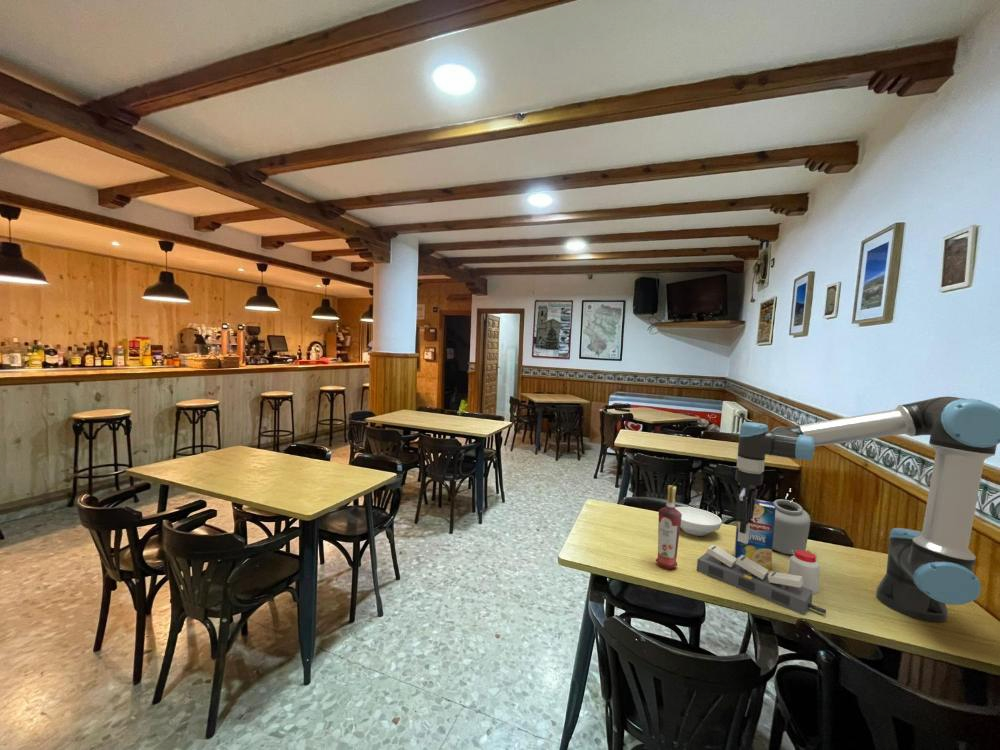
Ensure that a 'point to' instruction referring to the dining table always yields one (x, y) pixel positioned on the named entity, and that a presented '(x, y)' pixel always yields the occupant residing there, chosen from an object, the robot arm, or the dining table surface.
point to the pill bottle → (805, 568)
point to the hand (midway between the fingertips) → (742, 541)
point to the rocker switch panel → (758, 585)
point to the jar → (790, 527)
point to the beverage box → (759, 535)
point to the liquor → (668, 531)
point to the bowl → (698, 521)
